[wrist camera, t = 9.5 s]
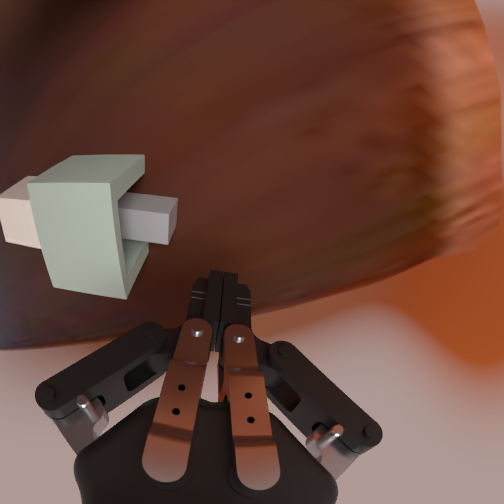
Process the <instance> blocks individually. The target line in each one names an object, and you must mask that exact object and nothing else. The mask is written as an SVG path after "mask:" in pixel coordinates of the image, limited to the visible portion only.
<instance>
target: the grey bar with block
mask: <svg viewBox="0 0 504 504" xmlns="http://www.w3.org/2000/svg"><path fill="white" fill-rule="evenodd" d="M36 177H37V176H27V177H25V178H24V179H22V180H21V181H19V182H18V183H16V184H15V185H13V186H12V187H10V188H9V189H7V190H6V191H5V192H3V193H2V194H0V220H1V224H2V228H3V232H4V236H5V240H6V242H10V243H15V244H19V245H24V246H29V247H34V248H39V249H41V246H40V242H39V238H38V235H37V231H36V227H35V222H34V218H33V213H32V209H31V204H30V199H29V193H28V187H27V183H28V182H29V181H31V180H32V179H34V178H36ZM177 202H178V198H172V197H164V196H156V195H147V194H138V193H128V192H125V193H124V194H123V195H122V196H121V197H120V198H119V199H118V211H119V221H120V230H121V238H124V239H131V240H138V241H145V242H152V243H159V244H166V245H168V244H169V241H170V239H171V237H172V234H173V232H174V230H175V227H176V218H177Z"/></svg>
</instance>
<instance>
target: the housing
mask: <svg viewBox="0 0 504 504" xmlns="http://www.w3.org/2000/svg"><path fill="white" fill-rule="evenodd" d="M144 173H145V155H75V156H71V157H69V158H67V159H65V160H64V161H62V162H60V163H58V164H57V165H55V166H53V167H52V168H50V169H48V170H47V171H45V172H43V173H42V174H40V175H39V176H37V177H36V178H34V179H32V180H31V181H29V182H28V183H27V187H28V193H29V199H30V204H31V209H32V213H33V218H34V222H35V227H36V231H37V235H38V238H39V242H40V246H41V249H42V253H43V256H44V260H45V263H46V266H47V269H48V272H49V275H50V278H51V281H52V284H53V287H56V288H61V289H67V290H72V291H77V292H83V293H89V294H95V295H101V296H107V297H113V298H120V299H126V300H127V297H128V295H129V293H130V291H131V288H132V286H133V284H134V282H135V280H136V277H137V275H138V273H139V271H140V269H141V267H142V265H143V263H144V261H145V259H146V257H147V255H148V253H149V246H148V242H145V241H138V240H131V239H124V238H121V230H120V221H119V211H118V199H119V198H120V197H121V196H122V195H123V194H124V193H125V192H126V191H127V190H128V189H129V188H130V187H131V186H132V185H133V184H134V183H135V182H136V181H137V180H138V179H139V178H140V177H141V176H142V175H143V174H144Z"/></svg>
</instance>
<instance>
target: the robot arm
mask: <svg viewBox="0 0 504 504" xmlns="http://www.w3.org/2000/svg"><path fill="white" fill-rule="evenodd" d="M215 340H216V342H215ZM214 345H215V352H219V360H218V364H217V371H218V402H216V403H215V402H209V401H207V400H204V399H201V392H202V387H203V381H204V377H205V371H206V366H207V362H208V361H209V356H210V351H213V350H214ZM166 371H167V372H166ZM165 372H166V376H165V379H164V383H163V386H162V390H161V393H160V397H158V398H154V399H151V400H149V401H147V402H145V403H143V404H142V405H141V406H139V407H138V408H137V409H135V410H134V411H133V412H132V413H130V414H129V415H128V416H127V417H125V418H124V419H122V420H121V421H120V422H118V423H117V424H116V425H114V426H113V427H112V428H110V429H109V430H108V431H106V432H105V433H104V434H102V435H101V436H100V434H101V432H102V431H103V430H104V429H105V428H106V427H107V425H108V422H109V417H108V414H107V413H108V412H110V411H111V410H113V409H114V408H116V407H117V406H119V405H120V404H122V403H123V402H125V401H126V400H128V399H129V398H131V397H132V396H133V395H135V394H136V393H138V392H139V391H141V390H142V389H144V388H145V387H146V386H148V385H149V384H151V383H152V382H153V381H154V380H156V379H158V378H159V377H160V376H162V375H163V374H164V373H165ZM267 397H268V398H269V399H270V400H271V401H272V403H273V404H274V405H275V406H276V407H277V408H278V409H279V410H280V411H281V412H282V413H283V414H284V415H285V416H286V417H287V418H288V419H289V420H290V421H291V422H292V423H293V424H294V425H295V426H296V427H297V428H298V429H299V430H300V431H301V432H302V433H303V434H304V435H305V436H306V437H307V439H306V448H307V449H306V448H305V447H304V446H303V445H302V444H301V443H300V442H299V441H298V440H297V438H296V437H295V436H294V435H293V434H292V433H291V432H290V431H289V430H288V429H287V428H286V426H285V425H284V424H283V423H282V422H281V421H280V420H279V419H278V418H277V417H276V416H275V415H273V414H272V413H270V412H269V410H268V404H267ZM35 399H36V402H37V404H38V405H39V406H40V407H41V408H42V410H43V411H44V412H45V414H46V415H47V416H48V417H49V418H50V419H51V420H52V421H53V422H54V423H55V424H56V425H57V427H58V429H59V430H60V431H61V433H62V435H63V436H64V437H65V439H66V440H67V442H68V443H69V445H70V446H71V447H72V449H73V450H74V452H75V453H76V454H77V457H76V459H75V463H74V475H75V479H76V482H77V484H78V487H79V490H80V494H81V499H82V504H335V502H336V500H337V496H338V487H337V483H336V481H335V480H336V479H337V478H338V477H339V476H340V475H341V474H342V473H343V472H344V471H345V470H346V469H347V468H348V467H349V466H350V465H351V464H352V463H353V462H354V461H355V459H356V458H357V457H358V456H359V455H361V454H363V453H365V452H366V451H368V450H369V449H371V448H373V447H374V446H376V445H377V444H379V443H380V441H381V439H382V429H381V427H380V426H379V425H378V423H377V422H376V421H374V420H373V419H372V418H371V417H370V416H369V415H368V414H367V413H365V412H364V411H363V410H362V409H361V408H360V407H359V406H358V405H357V404H356V403H354V402H353V401H352V400H351V399H350V398H349V397H348V396H347V395H346V394H345V393H343V392H342V391H341V390H340V389H339V388H338V387H337V386H336V385H335V384H334V383H333V382H332V381H330V380H329V379H328V378H327V377H326V376H325V375H324V374H323V373H322V372H321V371H320V370H319V369H318V368H317V367H316V366H315V365H313V363H311V362H310V361H309V360H308V359H307V358H306V357H305V356H304V355H303V354H302V353H301V352H300V351H299V350H298V349H297V348H296V347H295V346H294V345H292V344H291V343H289V342H286V341H276V342H275V343H273V344H269V343H267V342H264V341H262V340H260V339H258V338H257V337H256V336H255V335H254V334H253V332H252V329H251V301H250V290H249V289H248V287H247V285H244V284H238V274H235V273H229V272H224V277H223V272H222V271H215V270H210V274H209V279H205V278H198V279H197V280H196V281H195V282H194V285H193V289H192V294H191V299H190V304H189V309H188V314H187V318H186V321H185V322H184V323H183V324H182V325H181V326H179V327H177V328H172V329H164V328H163V327H162V326H161V325H160V324H158V323H155V322H145V323H142V324H140V325H139V326H137V327H135V328H134V329H132V330H130V331H129V332H127V333H125V334H123V335H122V336H120V337H118V338H117V339H115V340H113V341H112V342H110V343H108V344H107V345H105V346H103V347H101V348H100V349H98V350H96V351H95V352H93V353H91V354H90V355H88V356H86V357H84V358H83V359H81V360H79V361H78V362H76V363H74V364H73V365H71V366H69V367H67V368H66V369H64V370H63V371H61V372H59V373H57V374H55V375H54V376H52V377H50V378H49V379H47V380H45V381H43V382H42V383H41V384H39V386H38V387H37V388H36V391H35Z"/></svg>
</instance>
